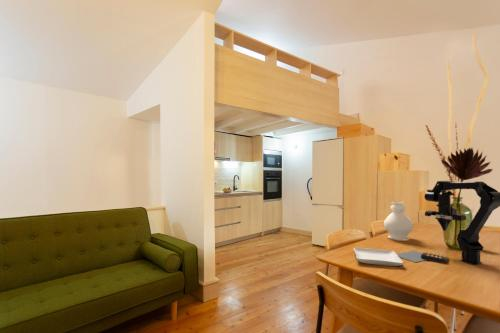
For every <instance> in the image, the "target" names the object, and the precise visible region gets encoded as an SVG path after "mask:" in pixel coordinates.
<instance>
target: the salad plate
mask: <svg viewBox="0 0 500 333" xmlns="http://www.w3.org/2000/svg"><path fill="white" fill-rule="evenodd" d="M353 251H354V253H355V257H356V260H358V262H360V263H363V264H368V265H377V266H388V267H389V266H391V267H394V266H396V267H397V266H398V267H399V266H402V265H403V264H404V261H403V259H402V258H399V257H398V255H397V254H398V253H396V252H395V250H390V249H377V248H366V247H353Z"/></svg>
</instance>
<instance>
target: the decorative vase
mask: <svg viewBox="0 0 500 333" xmlns="http://www.w3.org/2000/svg"><path fill="white" fill-rule="evenodd" d="M404 204H405V201H404V202H403V201H391V205H390V210H391V211H392V212H391V213H389V215H388V216H387V217H386V218H385V219H384V221H383V227H384V228H385V230H386V231H387V233H389V235H388V236H387V237H388V239H390V240H395V241H403V242H404V241H409V240H410V238H409V237H408V236H409V235H410V233H412V231H413V229H414V223H413V221H412V219H410V217H409V216H408V215H407V214H406V213H405V211H406V210H407V207H406V206H405V205H404Z"/></svg>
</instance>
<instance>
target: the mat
mask: <svg viewBox="0 0 500 333" xmlns="http://www.w3.org/2000/svg"><path fill="white" fill-rule="evenodd" d="M423 253H424V252H419V251H416V250H410V251H405V252H400V253H399V252H398V253H396V254H397V255H398V257H399V258H400V259H401V260H406V261H409V262H413V263H420V262H423V261H428V260H427V259H423V258H421V254H423Z"/></svg>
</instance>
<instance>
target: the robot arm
mask: <svg viewBox="0 0 500 333" xmlns="http://www.w3.org/2000/svg"><path fill="white" fill-rule="evenodd" d="M455 190H474V191H475V194H476V195H477V196H478V197H479V199H480V200H479V204H480V206H479V208H478V210H477V212H476V214H475V215H474V216H473V218H472V219H471V223H470V225H469V227H468V228H467V229H466V230H462V229H460V230H459V231H458V234H457V235H456V241H457V244H458V246H459V250H460V251H461V260H460V261H461V262H464V263H468V264H471V265H473V266H477V265H480V264H482V263H483V261H481V252H483V251H484V246H483V245H482V243H480V241H479V240H480V235H479V234H480V233H481V230H482V229H483V227H484V226H485V224H486V223H487V221H488V219H489V218H490V217H491V215H492V213H493V212H494V211H495V210H496V209H498V208H499V207H500V191H498V190H497V189H495V188H494V187H492V186H490V185H489V184H487V182H485V181H465V182H464V181H461V182H457V181H452V180H437V181H436V183H435V185H434V186H433V188H432V189H427V190H426V192H425V193H424V199H425V201H427V202H435V203H437V204H436V207H437V210H438V211H437V210H431V209H430V210H425V212H424V216H426V217H432V216H434V217H435V220H437V222H438V224H439V225H440V227H441V229H442V230H443V232H446V231H447V229H448V228H449V224H450V223H451V222H452V221H458V222H459V221H460V222H461V221H467V216H466V215H465V214H461V213H457V212H458V210H457V208H453V204H451V196H455V194H454V193H453V192H452V191H455ZM470 246H472V247H470Z"/></svg>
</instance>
